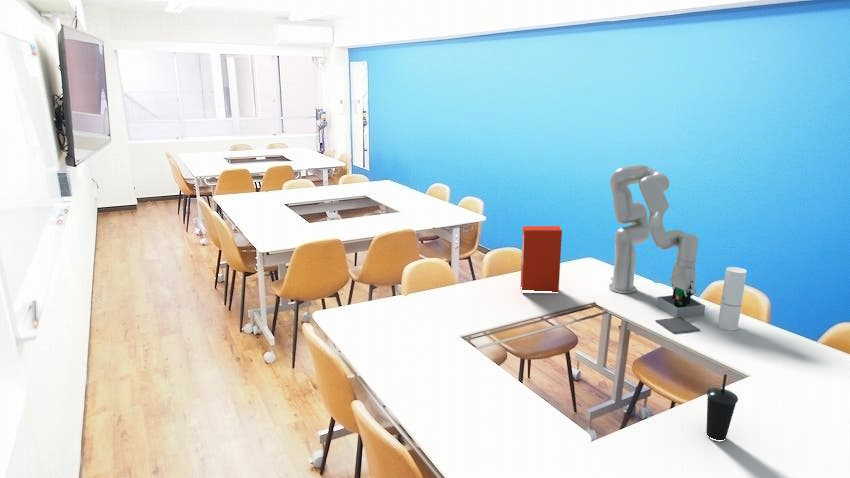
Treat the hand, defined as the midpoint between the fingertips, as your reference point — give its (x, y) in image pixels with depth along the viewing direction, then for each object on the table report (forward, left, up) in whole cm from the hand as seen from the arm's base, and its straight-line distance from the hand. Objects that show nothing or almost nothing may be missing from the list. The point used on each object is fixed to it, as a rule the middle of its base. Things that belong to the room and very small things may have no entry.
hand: (680, 301), depth 232 cm
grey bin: (0, 0, -5) cm, 5 cm away
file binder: (-37, -50, -5) cm, 63 cm away
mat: (+13, -11, -5) cm, 18 cm away
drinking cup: (+78, -47, -5) cm, 91 cm away
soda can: (0, 0, -5) cm, 5 cm away
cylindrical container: (+19, +8, -5) cm, 21 cm away
